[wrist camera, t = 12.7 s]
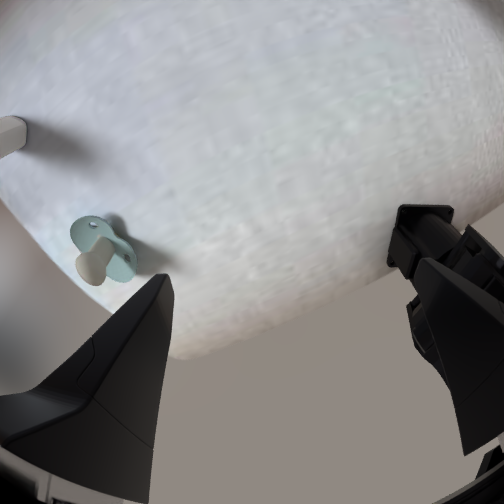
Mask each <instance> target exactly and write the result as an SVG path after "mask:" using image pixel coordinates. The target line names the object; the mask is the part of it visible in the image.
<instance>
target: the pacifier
mask: <svg viewBox="0 0 504 504" xmlns="http://www.w3.org/2000/svg"><path fill="white" fill-rule="evenodd" d="M90 222H94V223H96V224H97V225H98V226H97V227H93V226H91V225H90ZM70 235H71V239H72V241H73V243H74V244H75V245H76V247H77V248H78V249H79V251H80V252H81V254H80V255H79V256H78V257H77V259H76V264H75V265H76V269H77V272H78V274H79V275H80V277H81V278H82V279H83V280H84V281H85V282H87V283H88V284H90V285H93V286H99V285H101V284H102V283H103V282H104V280H105V278H106V276H108V277H109V278H111V279H112V280H114V281H117V282H128V281H130V280H132V278H133V277H134V275H135V273H136V271H137V257H136V254H135V252H134V250H133V248H132V247H131V245H130V244H129V243H128V242H127V241H125V240H124V239H122V238H120V237H119V236H118V235H117V234H116V233H115V232H114V230H113V228H112V226H111V225H110V224H109V223H108V222H107V221H106V220H104V219H102V218H100V217H97V216H84V217H81V218H79V219H77V220H76V221H75V222H74V223H73V224H72V226H71V229H70ZM124 254H127V255H128V256H129V257H130V260H131V261H130V262H129V261H127V260H126V259H125V257H124Z"/></svg>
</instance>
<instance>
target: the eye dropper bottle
mask: <svg viewBox="0 0 504 504" xmlns="http://www.w3.org/2000/svg"><path fill="white" fill-rule="evenodd" d="M26 133H27V126H26V123H25V122H24V121H23V120H21V119H19V118H17V117H15V116H5V117H1V118H0V159H1V158H3V157H5V156H7V155H8V154H10V153H12V152H14V151H16V150H18V149H20V148H22V147H23V146H24V145H25V144H26Z"/></svg>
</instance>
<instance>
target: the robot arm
mask: <svg viewBox="0 0 504 504" xmlns="http://www.w3.org/2000/svg"><path fill="white" fill-rule="evenodd" d="M404 209H405V211H404V212H402V211H403V210H404ZM449 210H450V211H449ZM448 211H449V212H448ZM453 213H454V209H453V208H452V207H451V206H448V205H410V204H403V205H401V206H400V207H399V208H398V212H397V218H396V223H395V227H394V229H393V232H392V237H391V241H390V246H389V250H388V252H389V254H388V258H387V265H388V266H389V267H398V268H399V269H400V271H401V273H402V274H403V276H404V277H405V279H409V280H410V281H411V283H412V285H413V286H414V288H415V290H416V291H417V293H418V295H417V296H416V297H415V298H414V299H413V301H412V302H409V304H408V305H407V306H406V308H407V313H408V318H409V322H410V328H411V333H412V338H413V342H414V346H415V348H416V349H417V350H418V351H419V353H420V354H421V355H422V357H423V358H424V359H425V360H427V361H428V362H429V363H431V364H432V365H433V366H434V368H435V369H436V370H437V371H438V372H439V374H440V375H441V377H442V378H443V380H444V381H445V383H446V385H447V387H448V388H449V390H450V392H451V396H452V400H453V404H454V408H455V413H456V417H457V422H458V426H459V431H460V437H461V442H462V448H463V453H464V456H466V455H468V454H470V453H471V452H473V451H475V450H476V449H478V448H480V447H481V446H483V445H485V444H486V443H488V442H489V441H491V440H493V439H494V438H496V437H498V440H499V443H500V444H499V445H498V446H496V447H495V448H494V449H492V450H490V451H489V452H487V453H486V454H485V455H484V458H483V461H482V463H481V466H480V468H479V471H478V473H477V476H476V478H475V480H474V481H473V482H471V483H469V484H468V485H466V486H464V487H463V488H461V489H459V490H458V491H456V492H454V493H452V494H450V495H449V496H446V497H445V498H443V499H441V500H439V501H437V502H435V503H432V504H504V257H503V256H502V255H501V254H500V253H499V252H498V251H497V250H496V249H495V248H494V247H493V246H492V245H491V244H490V243H489V242H488V241H487V240H486V239H485V238H484V237H483V236H481V235H480V234H479V233H478V232H477V231H476V230H475V229H474V228H472V227H471V226H470V225H469V224H468V225H467V227H466V228H465V230H466V231H465V232H464V234H463V235H461V234H460V233H459V232H458V231H457V230H456V229H455V228H454V227H453V226H452V225H451V220H452V216H453ZM392 261H393V262H392ZM391 262H392V263H391ZM173 308H174V291H173V287H172V284H171V280H170V277H169V275H168V274H166V273H164V274H156V275H154V276H153V277H152V278H151V279H150V280H149V281H148V282H147V283H146V284H145V285H144V286H143V287H142V288H140V289H139V290H138V291H137V292H136V293H135V294H134V295H133V296H132V297H131V298H130V299H129V300H128V301H127V302H126V303H125V304H124V305H123V306H121V307H120V308H119V309H118V310H117V311H116V312H115V313H114V314H113V315H112V316H111V317H110V318H109V319H108V320H107V321H106V322H105V323H104V324H103V325H102V326H101V327H100V328H99V329H98V330H97V331H96V332H95V333H94V334H93V335H92V337H90V338H89V339H88V340H87V341H86V342H85V343H84V344H83V345H82V346H81V347H80V348H79V349H78V350H77V351H76V352H75V353H74V354H73V355H72V356H70V357H69V358H68V359H67V360H66V361H65V362H64V363H63V364H62V365H60V366H59V367H58V368H57V369H56V370H55V371H53V372H52V373H51V374H50V375H49V376H48V377H47V378H46V379H44V380H43V381H42V382H41V383H40V384H39V385H38V386H36V387H35V388H33V389H31V390H29V391H26V392H23V393H17V394H10V395H2V396H0V504H123V499H125V500H130V501H134V502H138V503H143V504H148V502H149V490H150V479H151V468H152V458H153V448H154V440H155V432H156V425H157V418H158V411H159V404H160V398H161V391H162V385H163V379H164V373H165V368H166V362H167V357H168V351H169V346H170V340H171V332H172V320H173Z"/></svg>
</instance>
